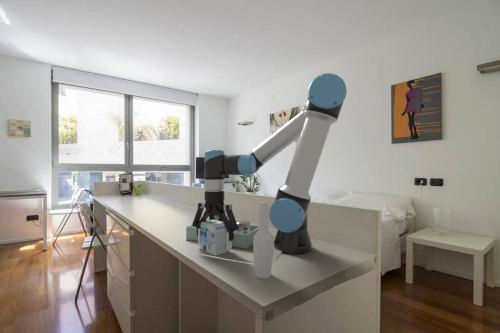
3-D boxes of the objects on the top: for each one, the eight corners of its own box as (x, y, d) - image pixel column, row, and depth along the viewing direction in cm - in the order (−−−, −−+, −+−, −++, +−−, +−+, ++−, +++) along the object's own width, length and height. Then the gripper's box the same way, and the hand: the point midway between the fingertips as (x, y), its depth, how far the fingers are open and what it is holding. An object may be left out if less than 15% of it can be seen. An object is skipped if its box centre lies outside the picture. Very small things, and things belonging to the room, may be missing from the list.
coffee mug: (205, 227, 135) (205, 208, 135) (210, 223, 144) (211, 206, 144) (227, 228, 133) (227, 209, 133) (231, 224, 142) (231, 206, 142)
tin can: (253, 239, 111) (253, 221, 111) (244, 244, 104) (245, 225, 104) (236, 237, 115) (236, 219, 115) (227, 242, 107) (227, 223, 107)
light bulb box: (199, 249, 99) (199, 221, 99) (214, 245, 104) (214, 219, 104) (215, 256, 91) (215, 226, 91) (230, 251, 96) (230, 223, 96)
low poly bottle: (250, 271, 79) (251, 201, 79) (270, 270, 81) (270, 200, 81) (255, 280, 73) (256, 204, 73) (276, 278, 74) (277, 203, 74)
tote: (262, 239, 114) (262, 226, 114) (247, 250, 100) (247, 234, 99) (206, 231, 126) (206, 219, 126) (186, 240, 112) (186, 226, 112)
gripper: (247, 190, 96) (247, 248, 96) (194, 188, 106) (194, 240, 106) (237, 192, 89) (238, 254, 89) (182, 190, 99) (183, 245, 99)
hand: (214, 246), depth 98 cm, fingers closed on light bulb box, 12 cm apart
